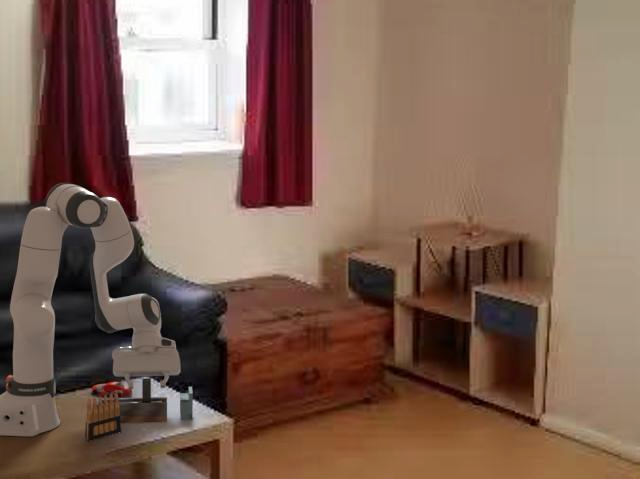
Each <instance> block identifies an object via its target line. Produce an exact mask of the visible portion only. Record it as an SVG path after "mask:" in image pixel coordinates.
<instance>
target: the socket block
mask: <svg viewBox="0 0 640 479" xmlns="http://www.w3.org/2000/svg"><path fill="white" fill-rule="evenodd" d="M193 396H194V393H193V386H188V392H183V393H182V392H180V394H179V406H180V407H179V414H180V416H179V418H180V420H192V419H193V409H194V408H193V404H194V402H193V400H194V399H193Z"/></svg>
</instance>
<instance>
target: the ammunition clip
mask: <svg viewBox="0 0 640 479" xmlns="http://www.w3.org/2000/svg"><path fill="white" fill-rule="evenodd" d="M103 397H104V398H102V395H99V397H98V399H99V401H98V410H97V401H96V399H97V398H96V397H93V400H92V401H91V398H88V401H87V405H86V422H85V431H84V435H85V436H84V439H85V440H86V441H88V442H90V441H89V440H92V441H95V440H99V439H102V438H105V436H106V437H109V435H110V436H113V435H116V434H120V433H122V427H121V426H122V423H121V417H120V408H119V398H118V393H117V392H116V394H115V397H113V396H112V394H110V396H106V395H105V396H103ZM108 397H109V407H108V400H107V398H108ZM113 398H115V399H114V405H113ZM102 399H104V405H103V406H102ZM92 409H93V410H92ZM119 432H120V433H119ZM112 434H113V435H112ZM98 438H99V439H98ZM94 439H95V440H94Z"/></svg>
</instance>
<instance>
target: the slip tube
mask: <svg viewBox="0 0 640 479" xmlns="http://www.w3.org/2000/svg"><path fill="white" fill-rule="evenodd" d="M141 381H142V385H141V387H142V392H141V394H142V395H141V398H142V402H119V404H120V403H158V402H162V401H151V397H152V378H142V380H141ZM108 404H109V402H108ZM113 404H114V402H113Z"/></svg>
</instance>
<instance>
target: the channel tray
mask: <svg viewBox="0 0 640 479" xmlns="http://www.w3.org/2000/svg"><path fill="white" fill-rule="evenodd" d="M114 399H115V397H113V402H114ZM107 400H108V402H109V398H108V397H107ZM96 401H97V410H98V401H99V398H96ZM151 401H162V402H158V403H120V404H119V408H120V417H121V424H150V423H153V424H154V423H168V402H167V401H168V396H160V397H159V396H158V397H156V396H154V397H153V396H151ZM119 402H142V397H122V398H119ZM103 405H104V398H102V406H103ZM113 405H114V404H113ZM108 407H109V404H108ZM92 410H93V408H92Z"/></svg>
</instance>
